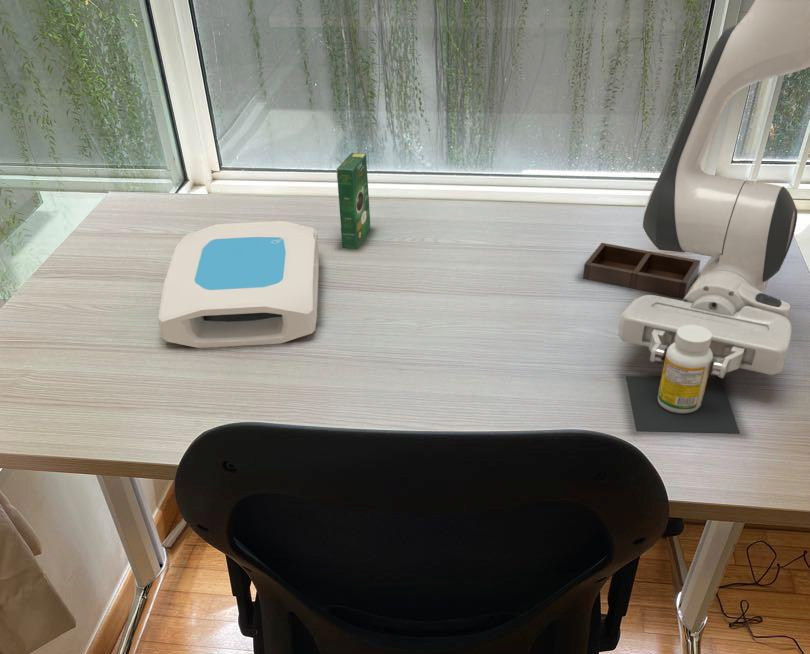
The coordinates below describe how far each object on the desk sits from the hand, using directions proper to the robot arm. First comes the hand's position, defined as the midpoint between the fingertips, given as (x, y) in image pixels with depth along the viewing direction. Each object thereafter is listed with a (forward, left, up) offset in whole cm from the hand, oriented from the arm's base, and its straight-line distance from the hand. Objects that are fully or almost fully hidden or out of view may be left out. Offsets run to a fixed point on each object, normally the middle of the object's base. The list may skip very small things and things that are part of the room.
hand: (686, 364), depth 103 cm
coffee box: (+46, -48, -7) cm, 66 cm away
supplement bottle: (0, -1, -6) cm, 6 cm away
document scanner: (+60, -27, -7) cm, 66 cm away
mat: (0, -1, -6) cm, 6 cm away
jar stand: (+1, -35, -6) cm, 35 cm away
